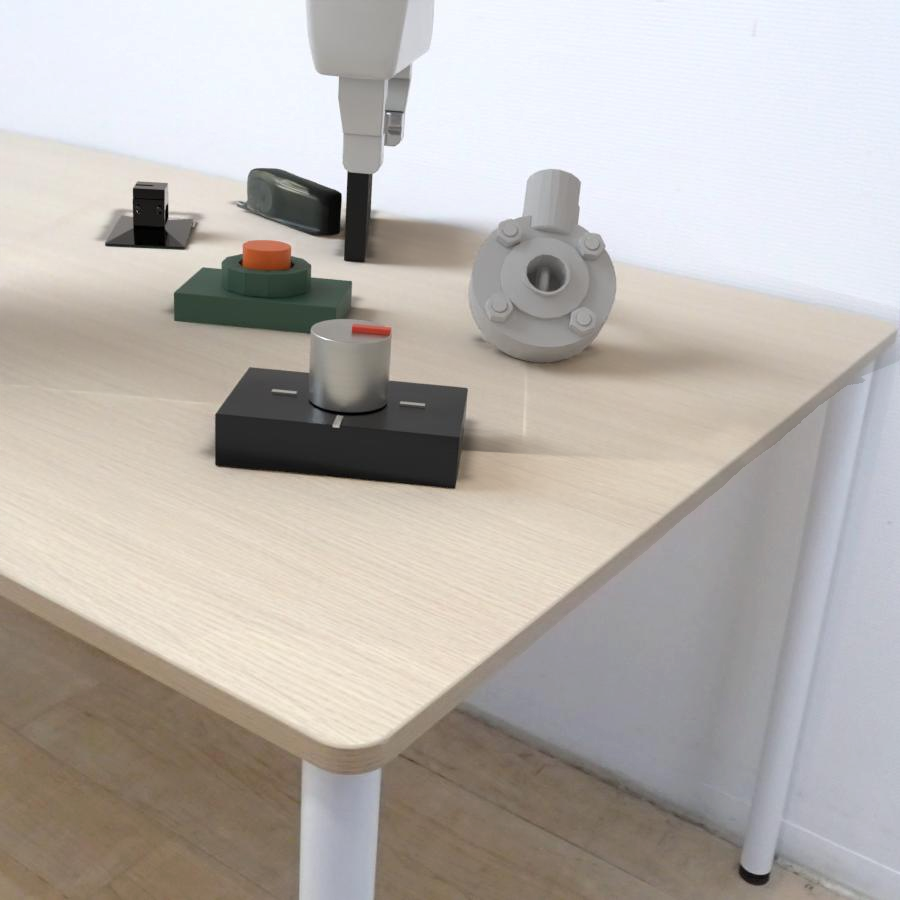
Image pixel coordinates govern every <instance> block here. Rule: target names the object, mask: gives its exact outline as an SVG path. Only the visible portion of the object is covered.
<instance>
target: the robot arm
mask: <svg viewBox="0 0 900 900" xmlns="http://www.w3.org/2000/svg"><path fill="white" fill-rule="evenodd" d="M305 10H306V30H307V39H308V45H309V52H310V55H311V60H312V64H313V67H314V69H315V71H316V72H317V73H318V74H320V75H323V76H327V77H338V89H337V91H338V92H337V100H338V106H339V115H340V122H341V128H342V166H343V169H344V170H346V172H347V171H349V172H352V173H364V174H376V173H377V172H378V171H379V170H380V168H381V167H382V165H383V163H384V150H385V147H397V146H398V145H399V144H400V143H401V142H402V141H403V140H404V137H405V123H406V111H407V105H408V100H409V95H410V88H411V83H412V77H413V63H414V62H415V61H417V60H418V59H419V58H421V57H422V56H423V55H425V54H426V53H428V52H429V50H430V47H431V44H432V38H433V32H434V31H433V29H434V17H435V16H434V15H435V0H305Z"/></svg>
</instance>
